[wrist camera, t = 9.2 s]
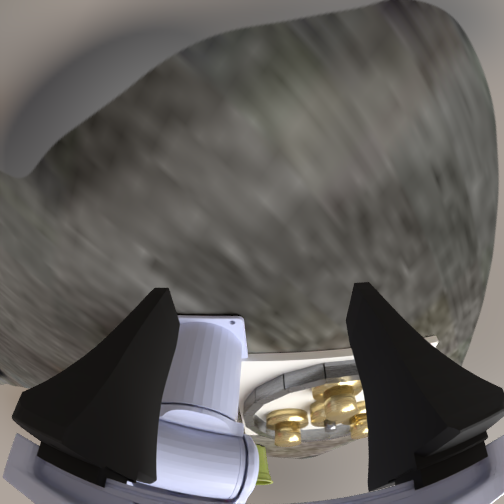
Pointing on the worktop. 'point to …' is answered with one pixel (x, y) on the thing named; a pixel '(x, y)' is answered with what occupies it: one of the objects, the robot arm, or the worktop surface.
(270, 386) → the ring gear
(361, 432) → the sun and planets
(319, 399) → the gear
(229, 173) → the worktop surface
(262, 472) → the plant pot
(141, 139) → the worktop surface
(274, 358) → the board
